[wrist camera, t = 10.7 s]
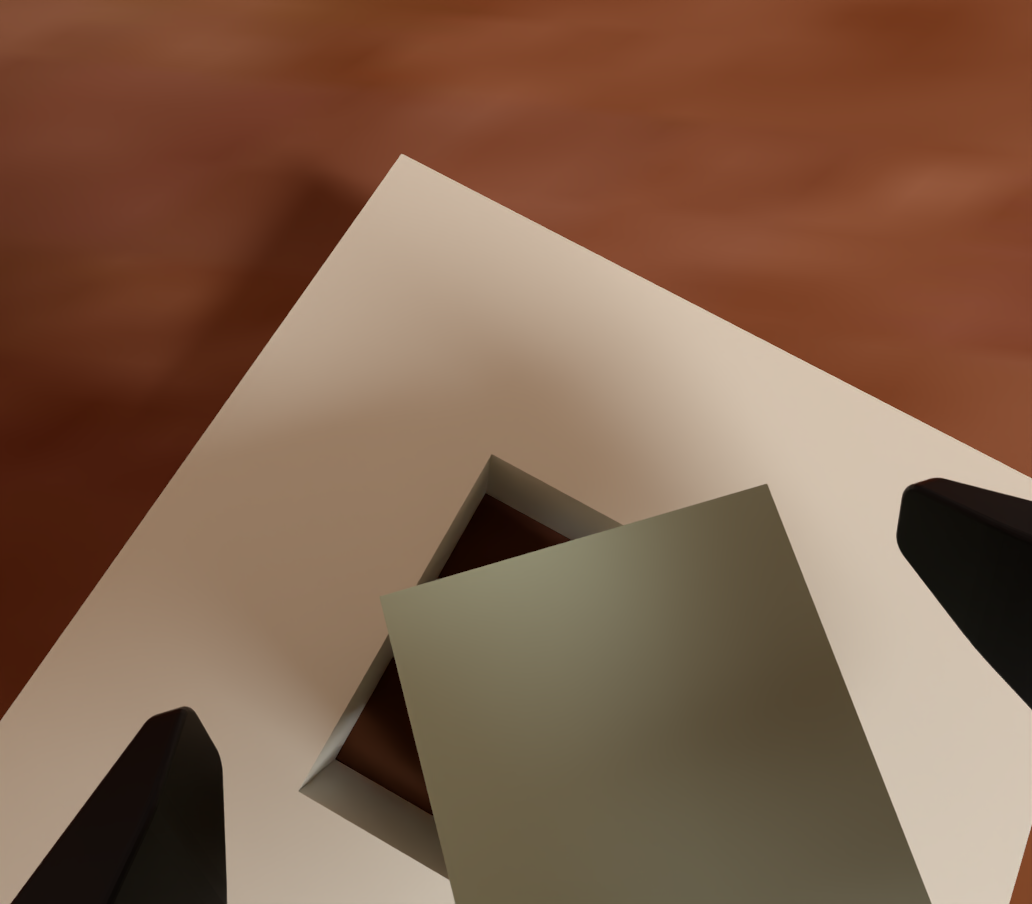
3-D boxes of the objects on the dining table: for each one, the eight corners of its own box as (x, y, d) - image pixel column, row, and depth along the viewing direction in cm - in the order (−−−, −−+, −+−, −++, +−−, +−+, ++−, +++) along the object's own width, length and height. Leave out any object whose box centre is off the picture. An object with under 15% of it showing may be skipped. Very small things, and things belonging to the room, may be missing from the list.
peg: (476, 816, 15) (499, 1082, 6) (427, 626, 16) (378, 596, 7) (654, 754, 15) (933, 908, 6) (596, 574, 16) (767, 482, 7)
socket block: (729, 1320, 13) (822, 1556, 10) (-6, 869, 14) (-154, 938, 11) (989, 547, 17) (1117, 522, 14) (412, 245, 18) (402, 153, 15)
